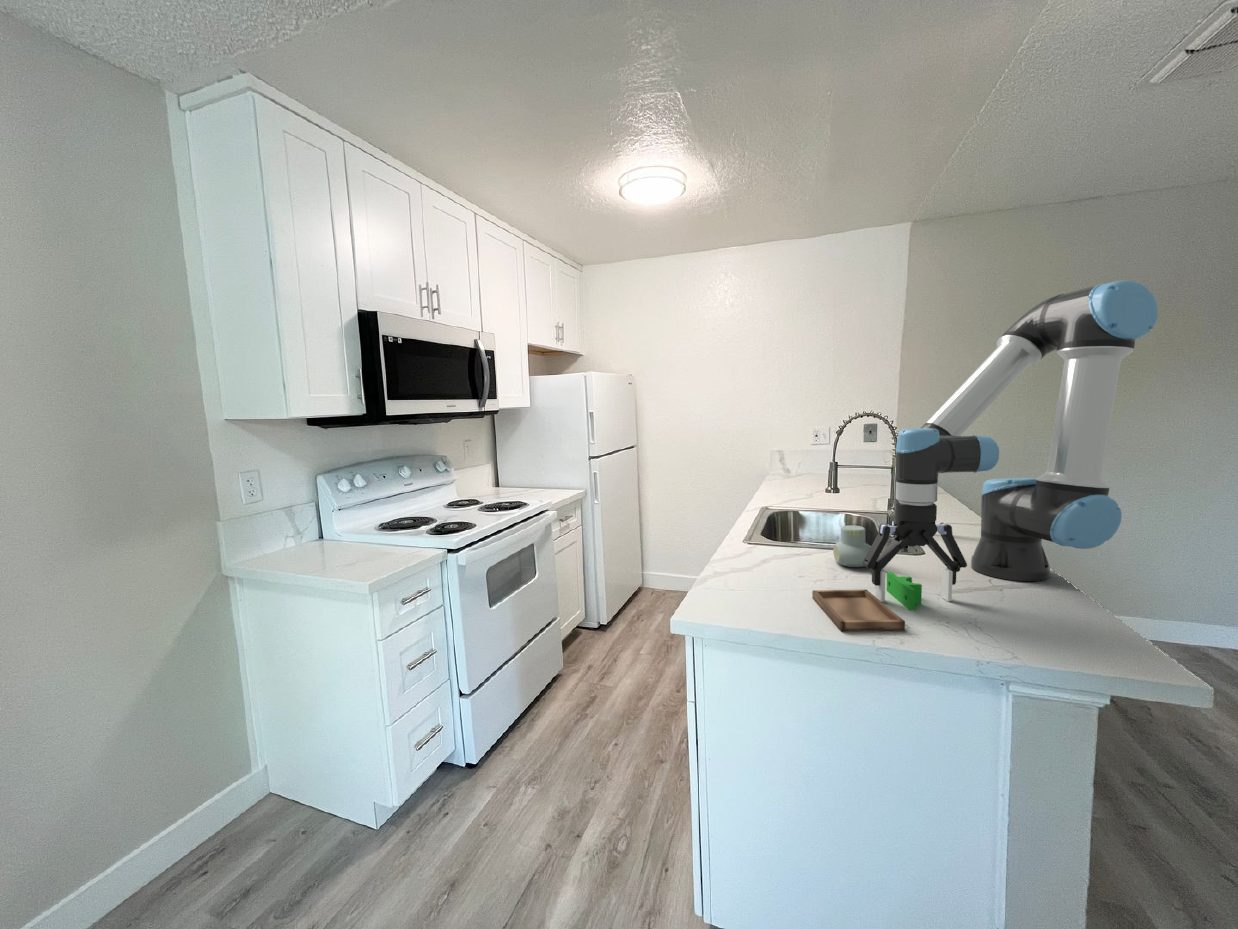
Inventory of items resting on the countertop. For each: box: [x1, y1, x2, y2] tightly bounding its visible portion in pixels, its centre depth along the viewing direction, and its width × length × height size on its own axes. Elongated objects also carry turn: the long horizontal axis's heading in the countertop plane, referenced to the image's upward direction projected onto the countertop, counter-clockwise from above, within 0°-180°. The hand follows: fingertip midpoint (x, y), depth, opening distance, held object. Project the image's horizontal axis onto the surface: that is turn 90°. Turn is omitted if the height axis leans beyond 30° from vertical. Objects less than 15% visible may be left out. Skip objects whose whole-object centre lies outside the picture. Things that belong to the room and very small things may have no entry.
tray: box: [811, 589, 906, 632], centre depth 101 cm, size 12×17×2 cm
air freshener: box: [832, 524, 872, 568], centre depth 131 cm, size 11×8×10 cm
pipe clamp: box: [885, 571, 923, 611], centre depth 106 cm, size 11×4×5 cm, turn 173°
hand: (912, 599), depth 106 cm, fingers open, 13 cm apart
